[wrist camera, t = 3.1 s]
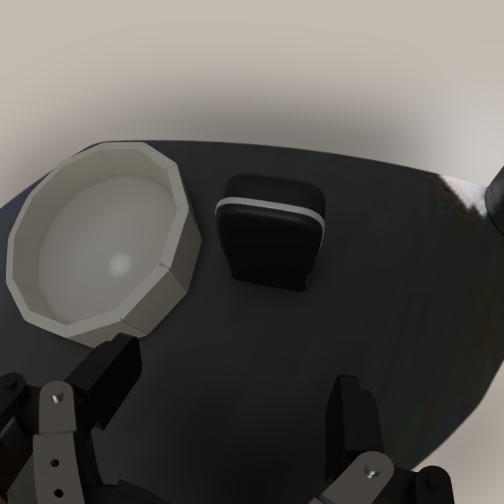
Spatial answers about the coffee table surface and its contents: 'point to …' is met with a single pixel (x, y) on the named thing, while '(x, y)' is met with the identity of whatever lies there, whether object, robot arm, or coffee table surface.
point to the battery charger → (270, 229)
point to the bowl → (104, 244)
